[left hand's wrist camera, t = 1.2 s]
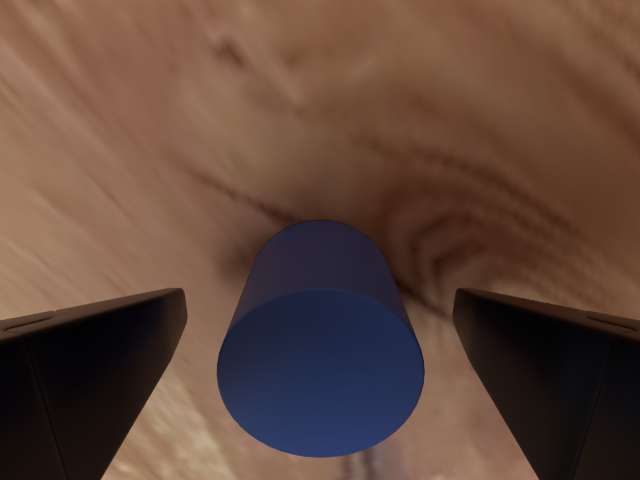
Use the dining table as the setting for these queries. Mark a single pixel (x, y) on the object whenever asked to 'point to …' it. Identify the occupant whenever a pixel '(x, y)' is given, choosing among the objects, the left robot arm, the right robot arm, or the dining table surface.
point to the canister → (320, 345)
